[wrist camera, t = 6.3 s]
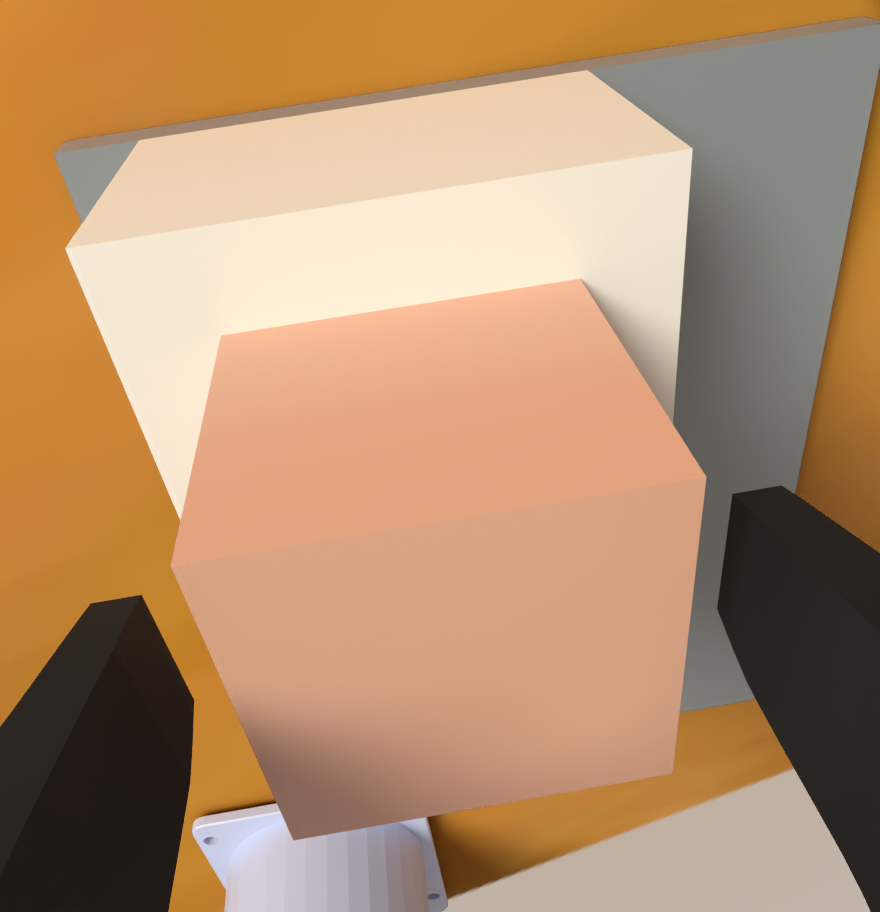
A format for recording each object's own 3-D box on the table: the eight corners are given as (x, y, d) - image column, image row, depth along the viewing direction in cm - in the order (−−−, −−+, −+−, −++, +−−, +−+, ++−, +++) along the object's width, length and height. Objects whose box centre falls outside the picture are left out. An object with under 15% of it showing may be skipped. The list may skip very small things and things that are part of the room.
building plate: (744, 679, 27) (754, 699, 26) (305, 757, 26) (305, 779, 26) (864, 16, 15) (888, 22, 14) (65, 141, 14) (53, 153, 14)
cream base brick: (589, 433, 19) (661, 584, 15) (256, 489, 19) (238, 658, 15) (587, 70, 14) (692, 148, 10) (139, 140, 14) (64, 248, 10)
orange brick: (582, 541, 14) (673, 773, 10) (300, 588, 14) (293, 840, 10) (580, 279, 11) (707, 477, 7) (221, 335, 11) (171, 565, 7)
